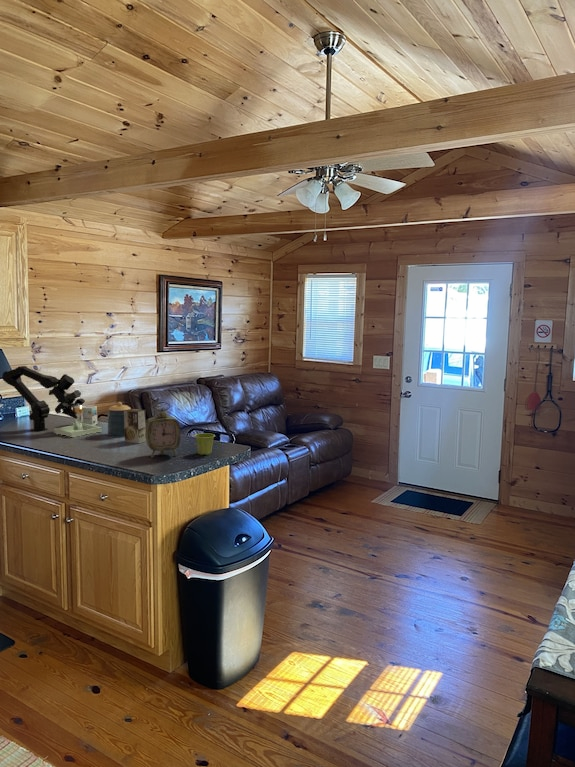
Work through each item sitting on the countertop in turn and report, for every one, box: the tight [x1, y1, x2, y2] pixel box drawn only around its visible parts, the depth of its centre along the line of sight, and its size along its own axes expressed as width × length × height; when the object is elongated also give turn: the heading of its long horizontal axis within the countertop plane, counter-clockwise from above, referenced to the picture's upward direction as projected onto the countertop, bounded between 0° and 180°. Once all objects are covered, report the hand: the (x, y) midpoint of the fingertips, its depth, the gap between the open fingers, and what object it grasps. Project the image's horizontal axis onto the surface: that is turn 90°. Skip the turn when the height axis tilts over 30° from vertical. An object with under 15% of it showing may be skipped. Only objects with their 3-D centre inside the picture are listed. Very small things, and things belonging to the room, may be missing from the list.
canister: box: [106, 401, 132, 438], centre depth 306 cm, size 13×13×18 cm
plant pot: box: [194, 432, 216, 456], centre depth 269 cm, size 9×9×9 cm
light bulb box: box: [83, 405, 98, 426], centre depth 330 cm, size 11×7×11 cm, turn 84°
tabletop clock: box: [145, 401, 181, 459], centre depth 263 cm, size 14×9×25 cm, turn 114°
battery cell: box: [72, 404, 84, 430], centre depth 309 cm, size 5×5×14 cm
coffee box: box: [124, 408, 147, 444], centre depth 291 cm, size 9×6×16 cm
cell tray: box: [54, 424, 103, 438], centre depth 309 cm, size 16×18×3 cm
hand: (80, 417), depth 308 cm, fingers closed on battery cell, 5 cm apart
